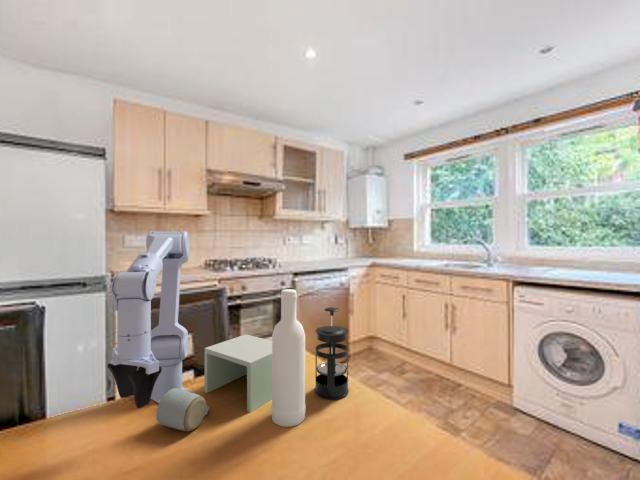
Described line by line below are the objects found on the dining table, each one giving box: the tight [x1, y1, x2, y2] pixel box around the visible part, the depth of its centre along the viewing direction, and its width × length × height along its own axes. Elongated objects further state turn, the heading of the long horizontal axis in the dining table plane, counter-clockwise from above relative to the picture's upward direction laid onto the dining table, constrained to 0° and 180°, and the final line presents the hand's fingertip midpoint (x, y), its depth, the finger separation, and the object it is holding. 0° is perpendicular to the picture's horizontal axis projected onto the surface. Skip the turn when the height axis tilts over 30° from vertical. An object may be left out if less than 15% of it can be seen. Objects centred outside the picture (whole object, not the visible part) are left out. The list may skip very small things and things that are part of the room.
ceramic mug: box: [155, 388, 210, 432], centre depth 71 cm, size 11×8×8 cm
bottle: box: [271, 288, 307, 428], centre depth 73 cm, size 8×8×30 cm
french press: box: [314, 306, 350, 401], centre depth 85 cm, size 12×9×23 cm
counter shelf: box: [203, 334, 272, 413], centre depth 86 cm, size 18×15×12 cm
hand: (134, 400), depth 61 cm, fingers open, 6 cm apart
